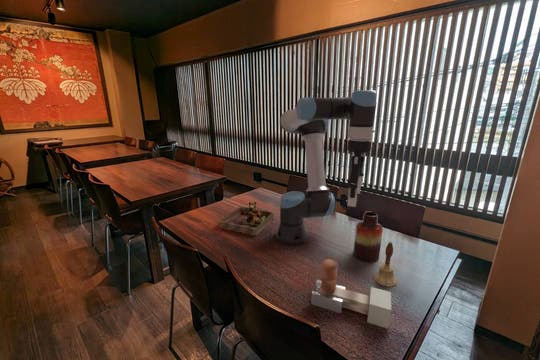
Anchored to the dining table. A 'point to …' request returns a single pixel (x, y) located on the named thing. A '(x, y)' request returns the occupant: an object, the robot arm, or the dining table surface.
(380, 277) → the hand bell
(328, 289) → the sliding bolt with handle
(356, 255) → the vase
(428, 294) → the dining table surface
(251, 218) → the bear figurine
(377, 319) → the white upright block
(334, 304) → the sleeve
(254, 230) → the shallow square tray
